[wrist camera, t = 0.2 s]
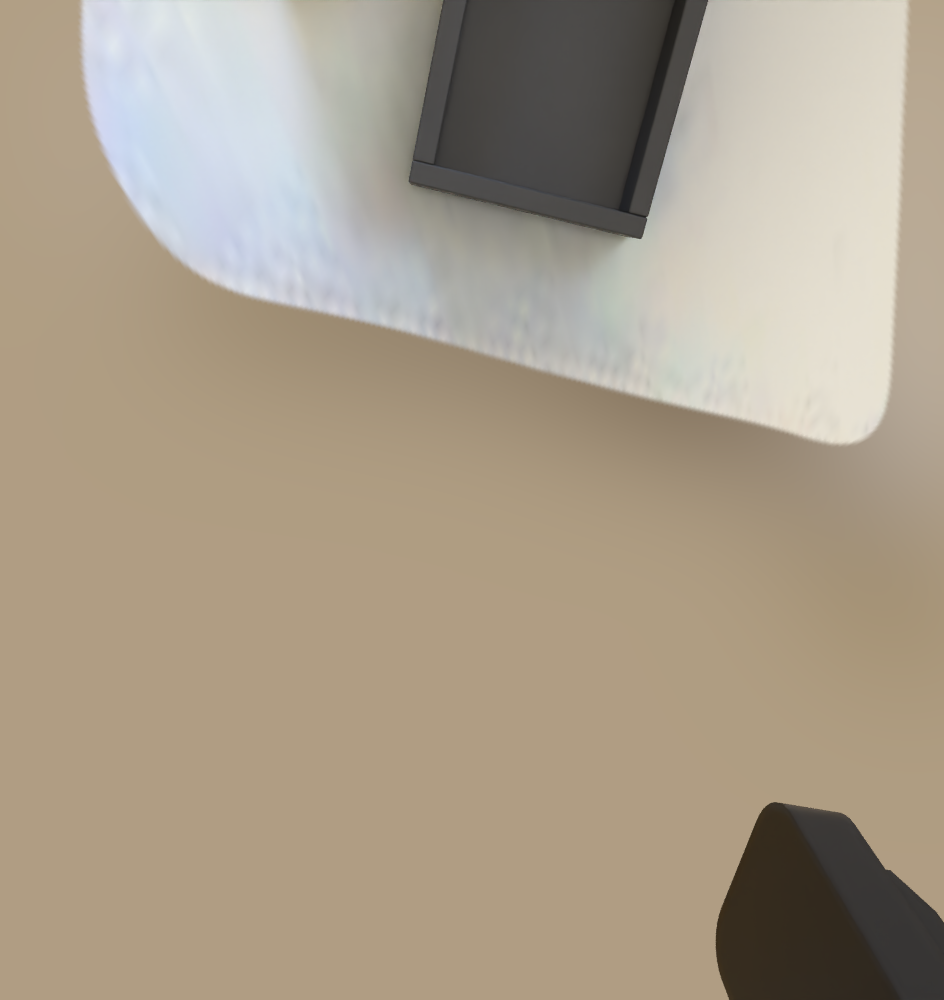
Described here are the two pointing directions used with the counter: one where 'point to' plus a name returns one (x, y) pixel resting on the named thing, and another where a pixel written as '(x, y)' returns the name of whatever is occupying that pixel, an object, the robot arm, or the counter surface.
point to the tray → (556, 105)
